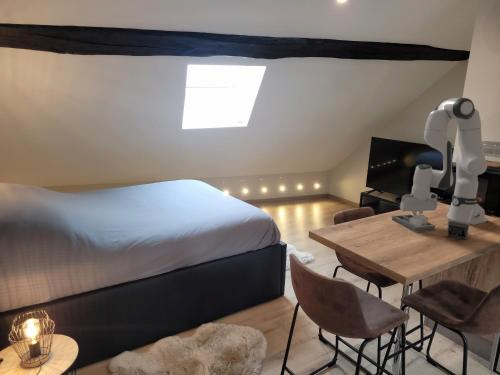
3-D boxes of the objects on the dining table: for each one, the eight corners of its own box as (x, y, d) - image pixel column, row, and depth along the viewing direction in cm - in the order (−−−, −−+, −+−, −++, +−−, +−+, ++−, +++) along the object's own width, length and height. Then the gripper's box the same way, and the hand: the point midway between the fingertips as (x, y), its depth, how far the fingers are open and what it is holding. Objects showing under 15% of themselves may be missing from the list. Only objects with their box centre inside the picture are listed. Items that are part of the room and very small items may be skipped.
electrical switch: (467, 238, 183) (470, 221, 180) (466, 242, 179) (469, 225, 176) (446, 234, 188) (449, 218, 185) (445, 238, 184) (447, 221, 181)
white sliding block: (414, 224, 197) (416, 216, 196) (421, 228, 193) (422, 219, 192) (408, 225, 196) (410, 216, 195) (415, 228, 192) (416, 219, 190)
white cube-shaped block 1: (420, 222, 202) (421, 213, 200) (426, 225, 197) (428, 216, 196) (414, 222, 201) (415, 214, 199) (421, 225, 196) (422, 217, 195)
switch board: (410, 218, 211) (410, 214, 211) (434, 230, 194) (435, 225, 193) (391, 219, 208) (392, 215, 207) (414, 231, 190) (415, 227, 190)
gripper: (405, 196, 193) (402, 220, 197) (440, 195, 197) (436, 219, 200) (399, 192, 199) (396, 216, 203) (433, 192, 203) (429, 215, 206)
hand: (416, 218), depth 202 cm, fingers closed
